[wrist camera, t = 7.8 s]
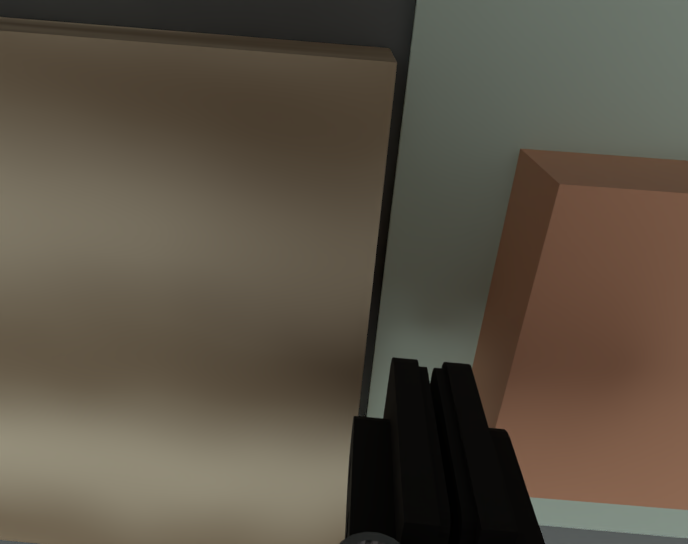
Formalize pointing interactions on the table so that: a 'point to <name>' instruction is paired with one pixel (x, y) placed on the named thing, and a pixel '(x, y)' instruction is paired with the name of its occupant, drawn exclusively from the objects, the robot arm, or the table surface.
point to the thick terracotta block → (592, 328)
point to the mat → (501, 160)
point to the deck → (183, 281)
